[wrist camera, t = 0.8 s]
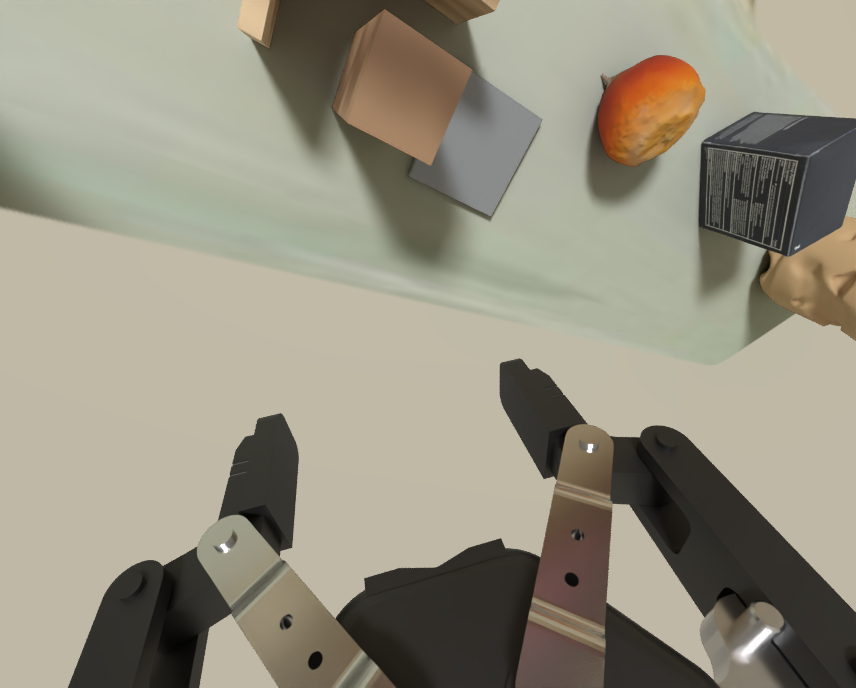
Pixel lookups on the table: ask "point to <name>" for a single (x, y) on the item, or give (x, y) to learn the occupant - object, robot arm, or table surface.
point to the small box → (778, 179)
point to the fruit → (648, 108)
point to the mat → (479, 147)
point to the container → (818, 279)
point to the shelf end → (262, 3)
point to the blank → (400, 86)
